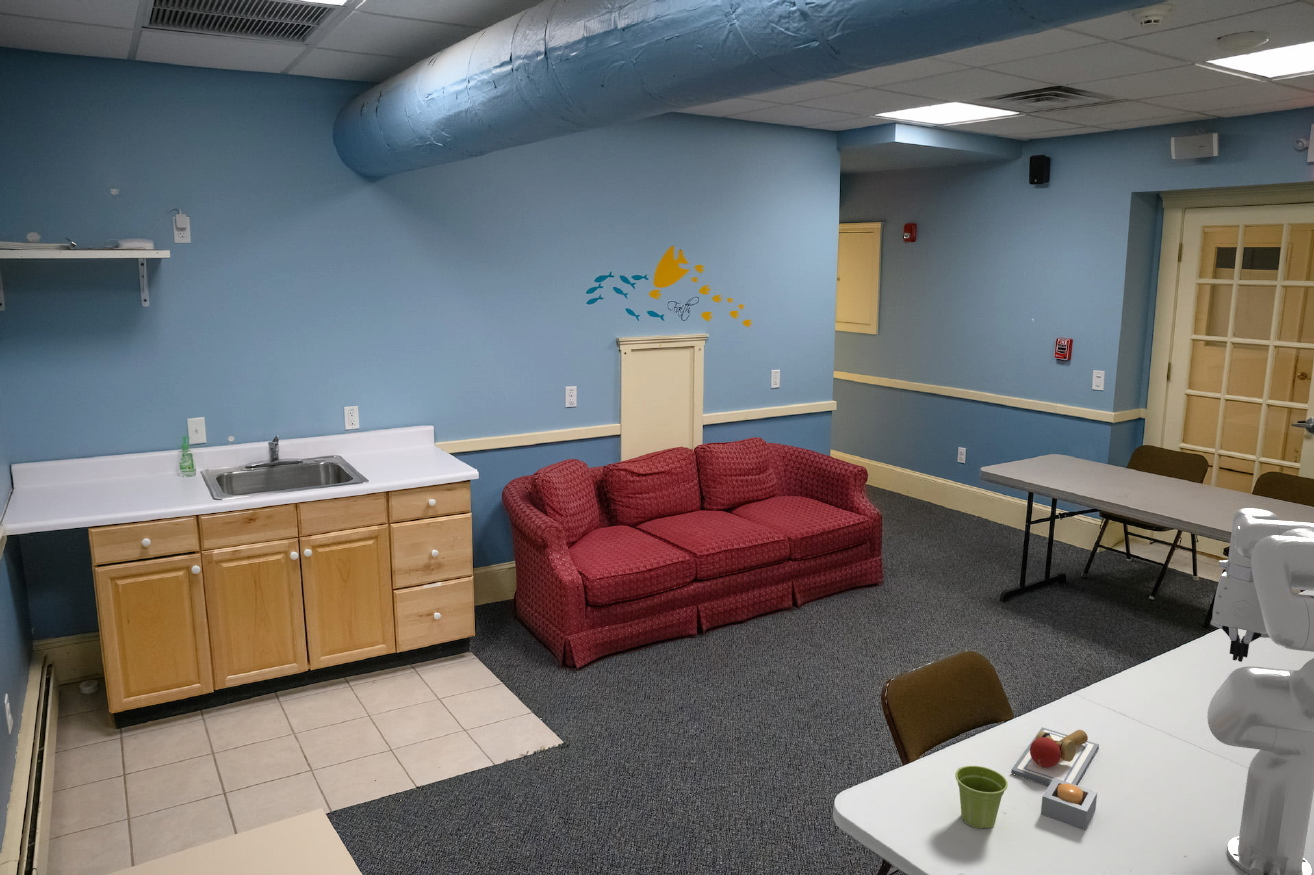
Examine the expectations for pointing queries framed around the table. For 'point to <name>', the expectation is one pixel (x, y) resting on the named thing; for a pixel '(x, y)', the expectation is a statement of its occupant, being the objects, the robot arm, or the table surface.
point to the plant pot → (980, 794)
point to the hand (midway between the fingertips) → (1237, 658)
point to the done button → (1070, 793)
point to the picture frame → (1062, 769)
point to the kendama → (1055, 748)
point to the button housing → (1068, 806)
